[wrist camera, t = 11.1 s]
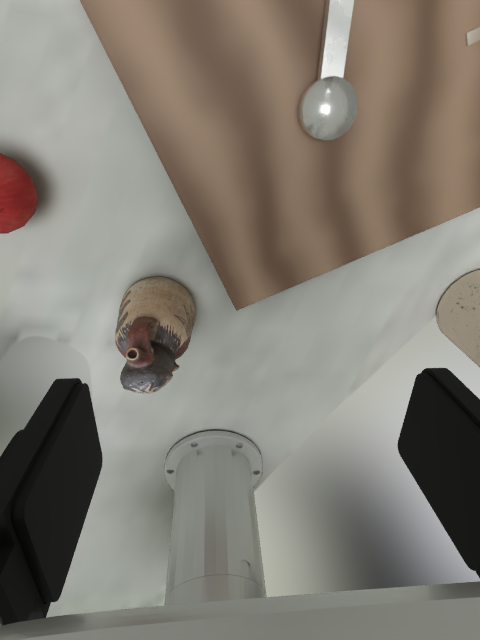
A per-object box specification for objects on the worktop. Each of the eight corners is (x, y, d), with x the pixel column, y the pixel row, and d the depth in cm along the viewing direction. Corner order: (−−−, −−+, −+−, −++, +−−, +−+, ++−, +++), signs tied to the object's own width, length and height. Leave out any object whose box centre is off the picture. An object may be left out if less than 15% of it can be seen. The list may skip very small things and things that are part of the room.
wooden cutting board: (235, 305, 37) (236, 311, 36) (80, -4, 25) (74, -11, 24) (494, 194, 34) (505, 197, 33) (460, -226, 22) (475, -247, 20)
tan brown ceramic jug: (127, 339, 38) (97, 423, 28) (117, 275, 35) (78, 343, 24) (196, 337, 39) (192, 418, 28) (193, 274, 35) (187, 339, 25)
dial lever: (345, 140, 29) (381, 146, 23) (295, 138, 29) (318, 143, 23) (390, -149, 22) (461, -253, 16) (323, -156, 21) (370, -265, 15)
